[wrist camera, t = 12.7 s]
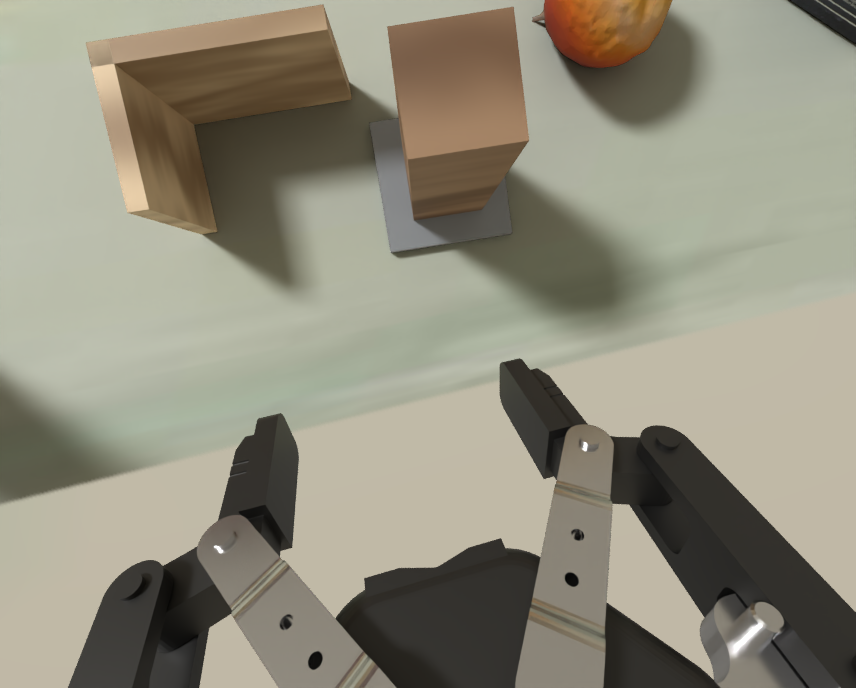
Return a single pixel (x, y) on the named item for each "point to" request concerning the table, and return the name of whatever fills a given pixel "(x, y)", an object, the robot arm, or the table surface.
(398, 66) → the plate
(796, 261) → the table surface
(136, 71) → the shelf end
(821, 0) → the small box
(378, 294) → the table surface
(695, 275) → the table surface
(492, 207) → the mat
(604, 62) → the fruit
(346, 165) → the table surface
